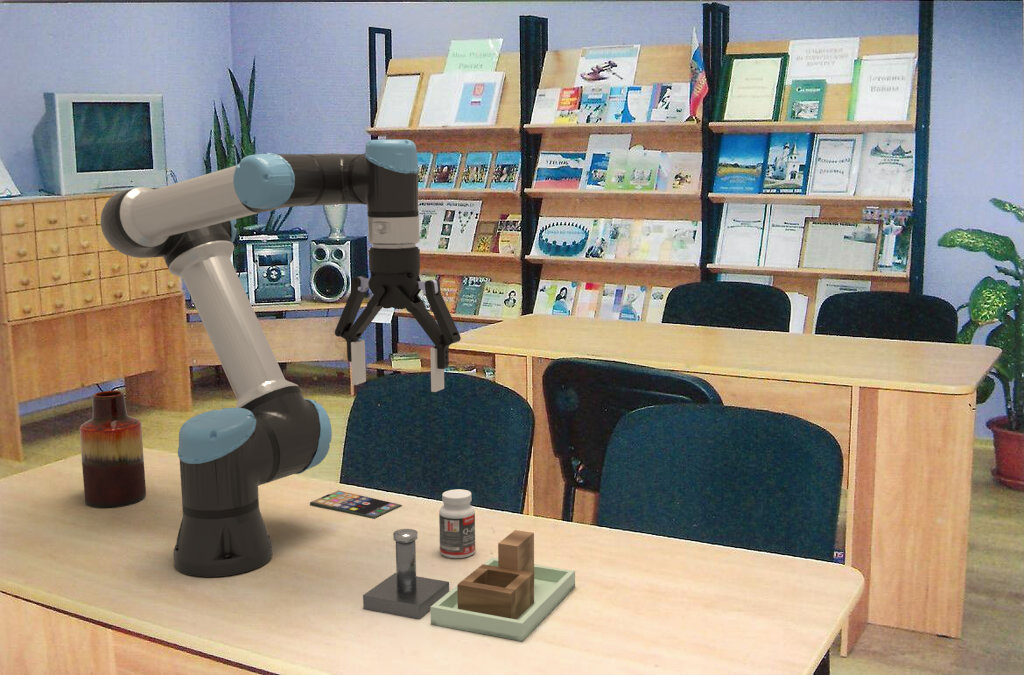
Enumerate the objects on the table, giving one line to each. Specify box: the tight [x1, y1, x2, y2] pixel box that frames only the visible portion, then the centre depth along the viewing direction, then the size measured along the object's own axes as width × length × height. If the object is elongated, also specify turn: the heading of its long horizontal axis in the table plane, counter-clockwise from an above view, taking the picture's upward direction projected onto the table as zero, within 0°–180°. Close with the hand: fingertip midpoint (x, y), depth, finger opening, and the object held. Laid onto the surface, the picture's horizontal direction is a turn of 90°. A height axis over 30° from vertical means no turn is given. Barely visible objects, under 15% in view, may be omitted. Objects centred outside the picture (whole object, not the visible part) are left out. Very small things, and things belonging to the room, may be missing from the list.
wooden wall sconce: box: [456, 529, 535, 620], centre depth 150 cm, size 14×8×8 cm, turn 156°
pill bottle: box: [438, 488, 476, 559], centre depth 170 cm, size 6×6×10 cm
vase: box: [79, 390, 147, 509], centre depth 198 cm, size 11×11×20 cm
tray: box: [430, 557, 576, 642], centre depth 151 cm, size 14×20×2 cm
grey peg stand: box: [362, 528, 450, 620], centre depth 151 cm, size 9×9×10 cm
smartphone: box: [309, 489, 403, 520], centre depth 195 cm, size 8×15×1 cm, turn 59°
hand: (397, 386), depth 160 cm, fingers open, 13 cm apart
